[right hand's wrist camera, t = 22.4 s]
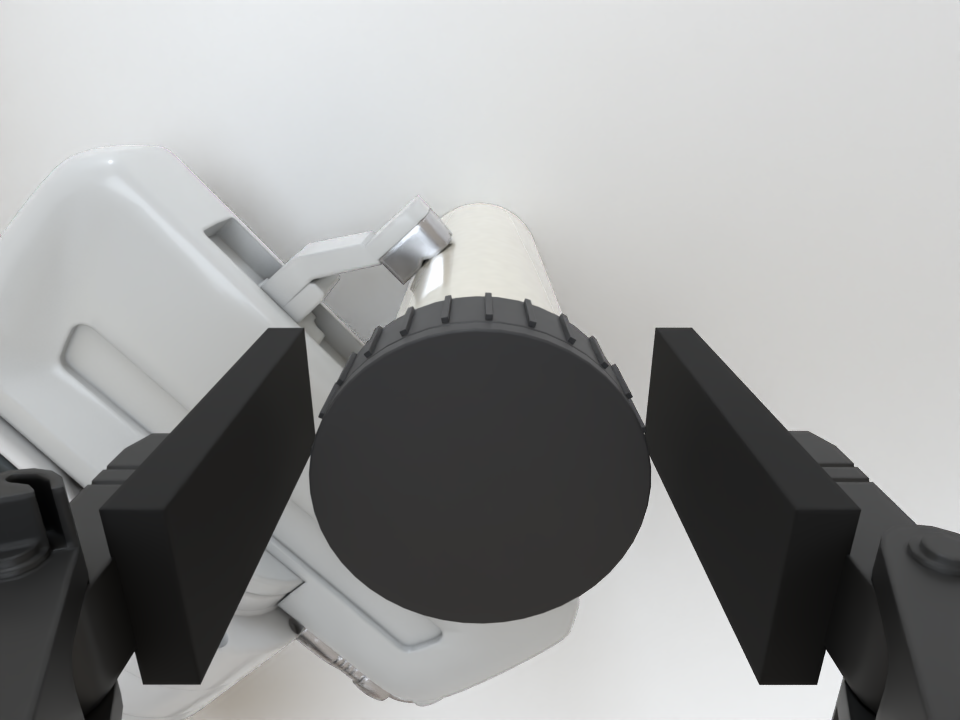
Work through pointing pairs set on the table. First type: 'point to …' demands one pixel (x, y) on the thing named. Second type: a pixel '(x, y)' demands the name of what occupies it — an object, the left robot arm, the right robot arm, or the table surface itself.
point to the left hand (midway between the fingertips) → (502, 291)
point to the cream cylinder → (483, 262)
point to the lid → (480, 462)
